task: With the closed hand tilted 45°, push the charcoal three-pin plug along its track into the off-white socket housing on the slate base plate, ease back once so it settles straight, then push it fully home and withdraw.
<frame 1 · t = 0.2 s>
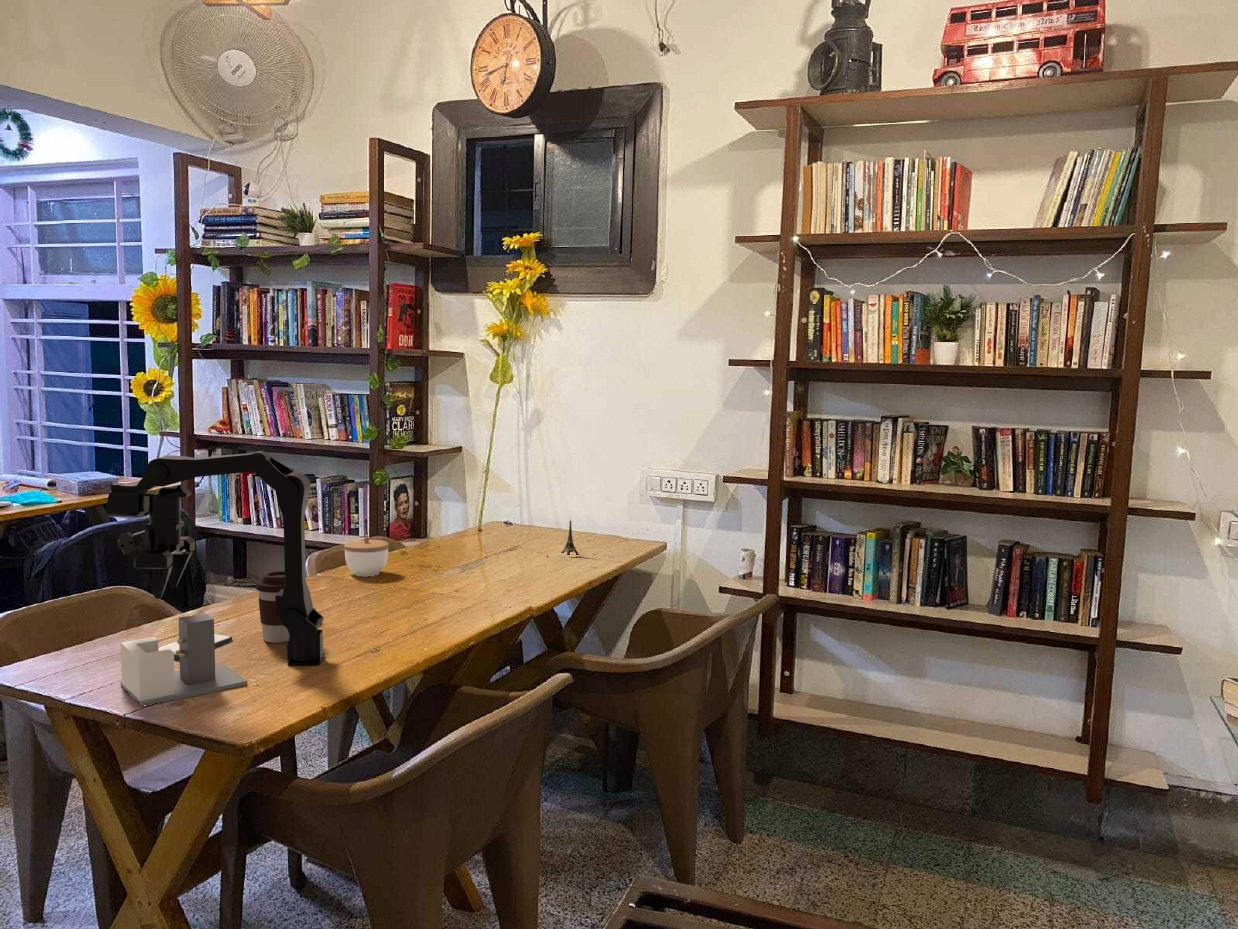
hand: (165, 593, 193), 15 cm above the table, tool pointing down, fingers open, 9 cm apart
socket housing: (148, 692, 178), on the table
plug: (194, 648, 183), point 7 cm above the table, slide at 0.0 cm
coffee cup: (280, 639, 214), on the table
lidded bowl: (366, 574, 278), on the table
eiffel tower figurine: (570, 557, 311), on the table
smartphone: (193, 650, 206), on the table
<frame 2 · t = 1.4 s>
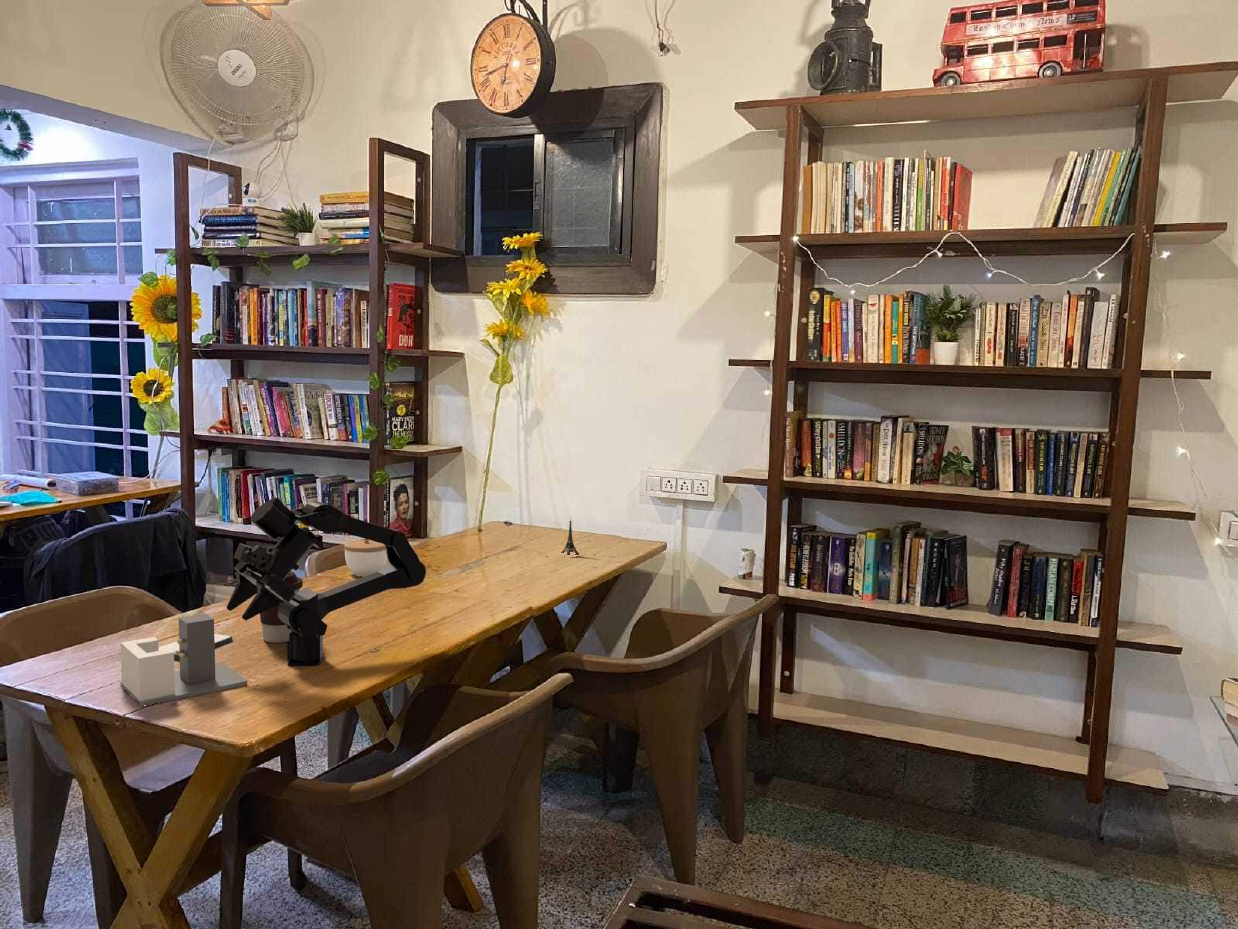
hand: (235, 614, 188), 12 cm above the table, tool tilted 45°, fingers open, 8 cm apart
nothing on the table moved.
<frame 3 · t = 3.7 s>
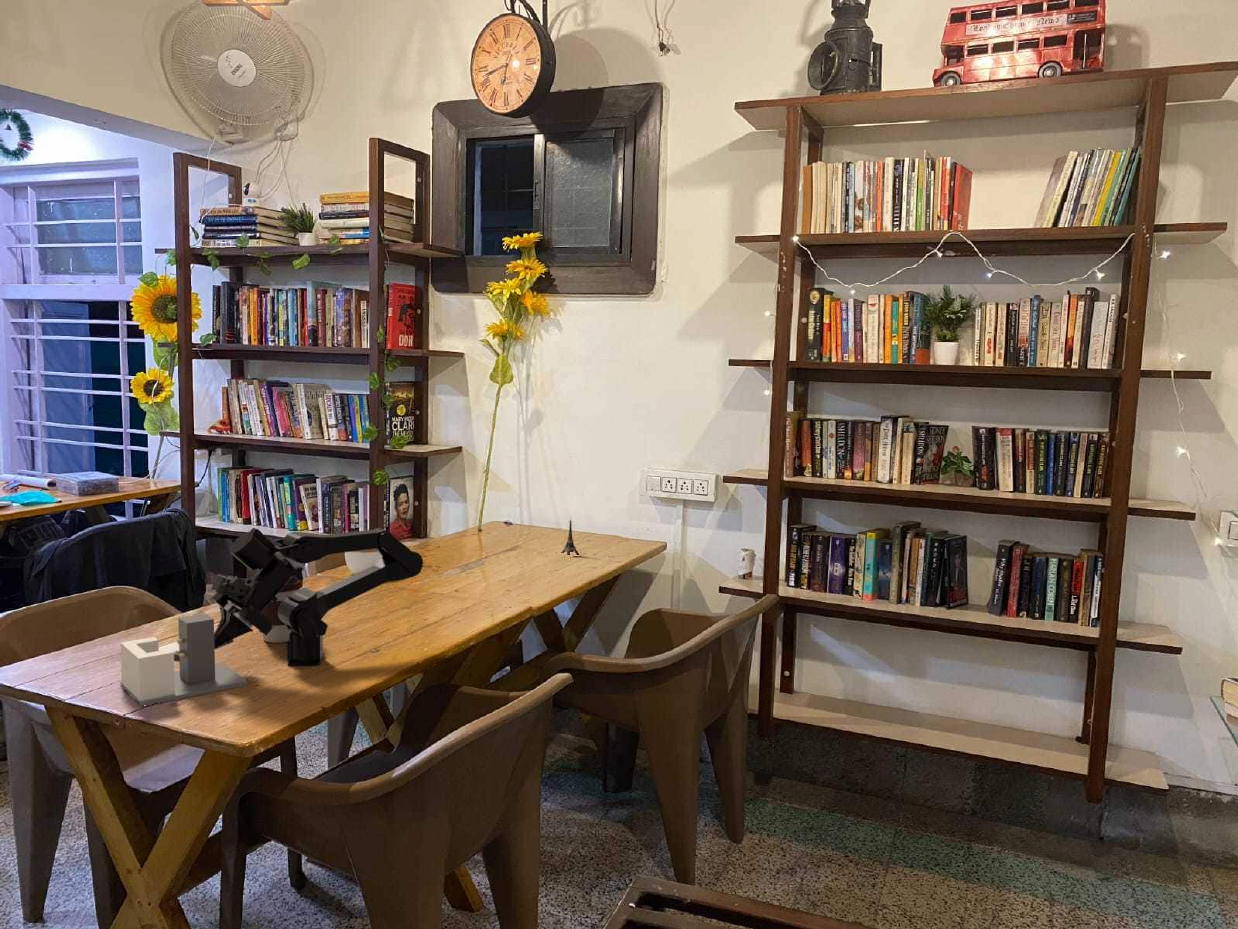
hand: (211, 646, 185), 7 cm above the table, tool tilted 45°, fingers closed, pressing on plug
plug: (194, 648, 183), point 7 cm above the table, slide at 0.0 cm, touching gripper
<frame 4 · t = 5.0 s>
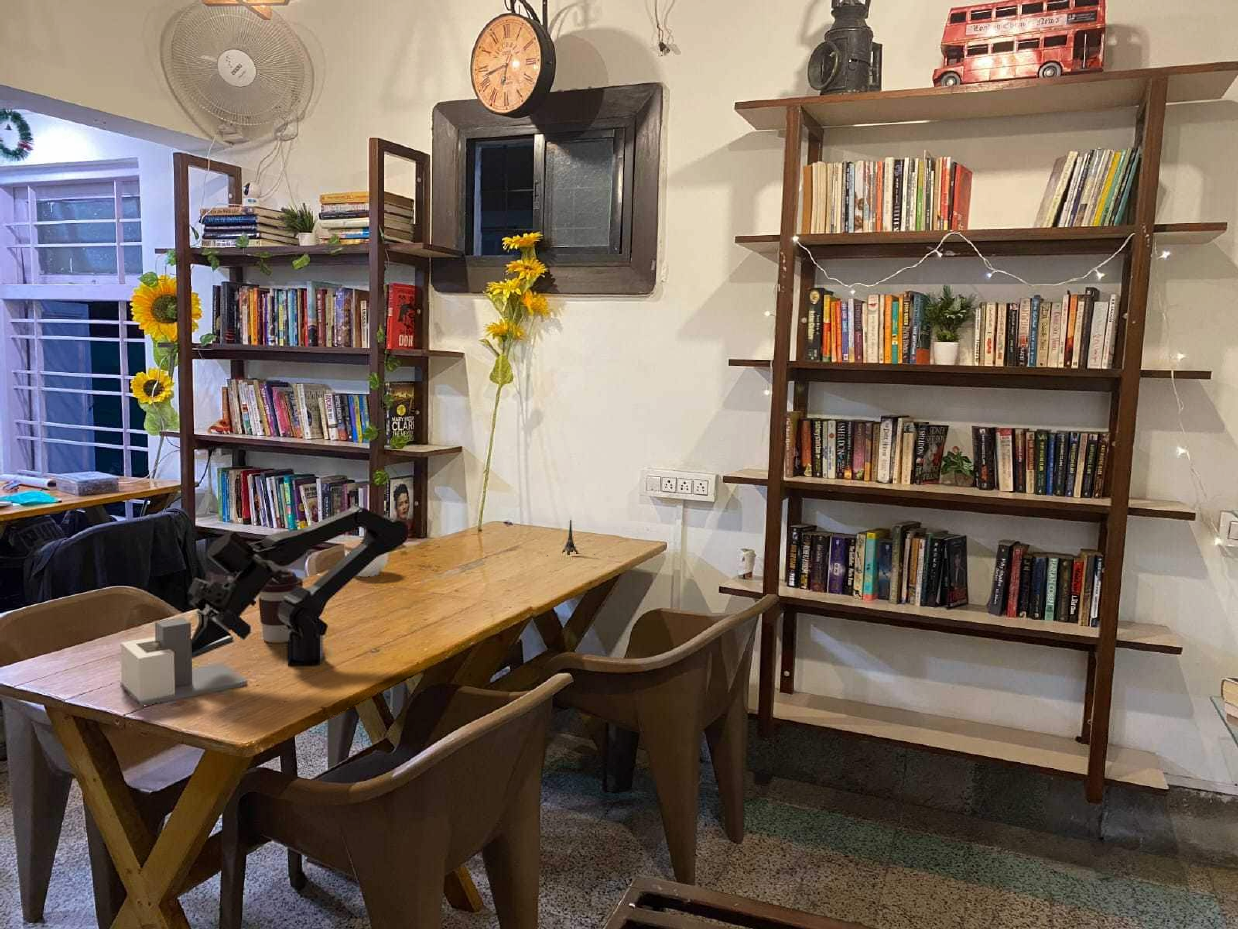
hand: (188, 651, 182), 7 cm above the table, tool tilted 45°, fingers closed, pressing on plug
plug: (170, 653, 180), point 7 cm above the table, slide at 4.3 cm, touching gripper
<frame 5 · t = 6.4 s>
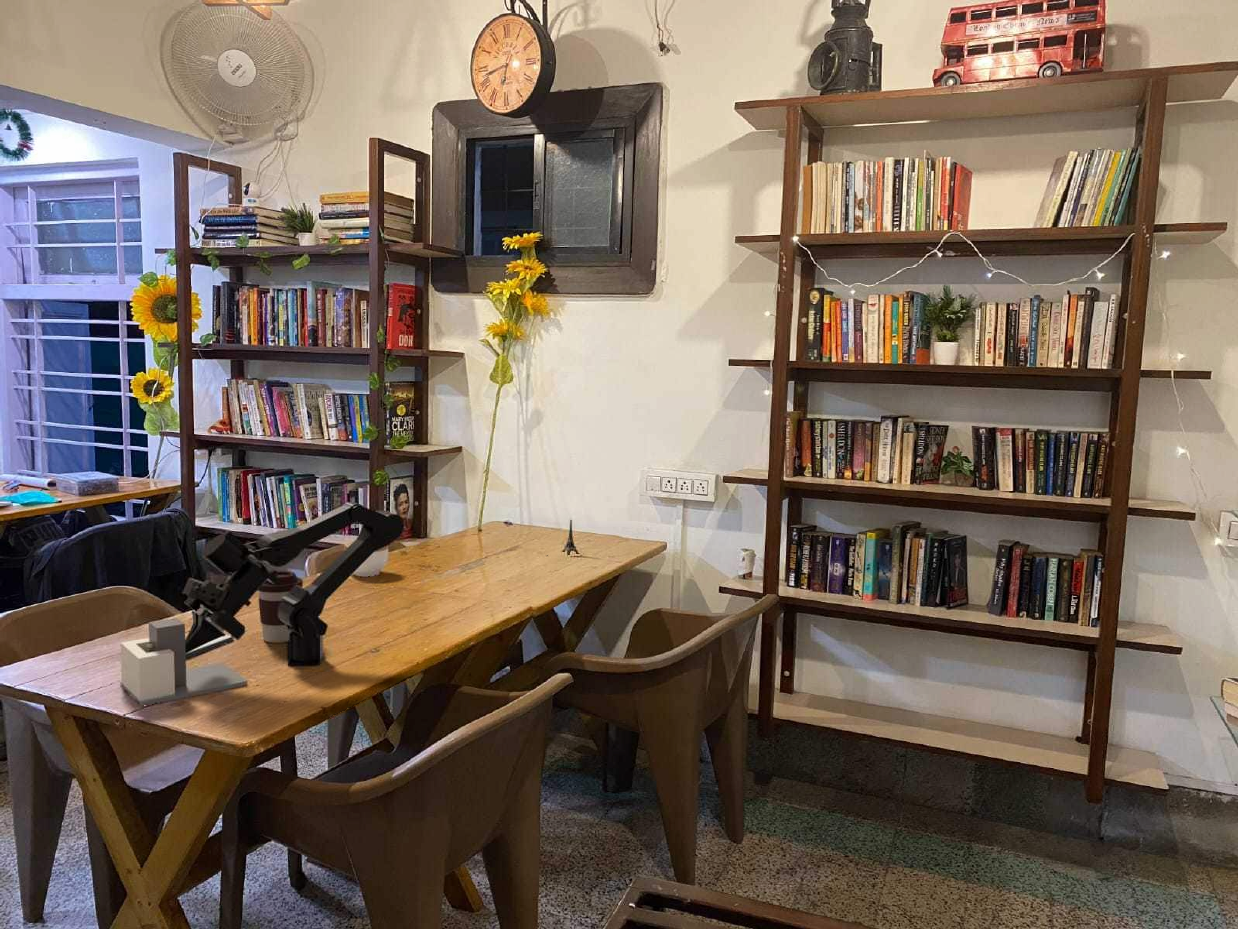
hand: (182, 651, 182), 7 cm above the table, tool tilted 45°, fingers closed, pressing on plug
plug: (164, 654, 179), point 7 cm above the table, slide at 5.4 cm, touching gripper
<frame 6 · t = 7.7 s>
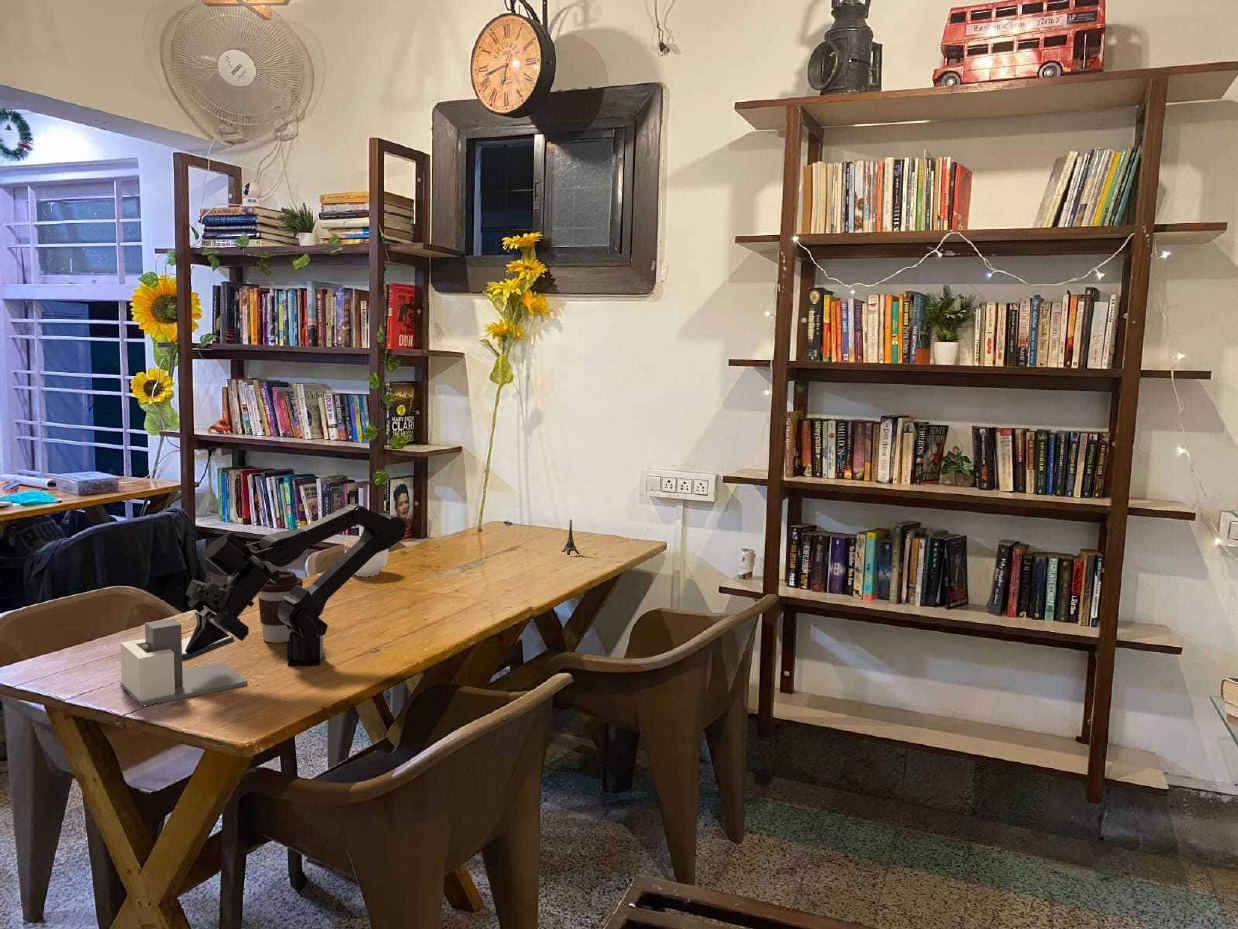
hand: (187, 653, 182), 6 cm above the table, tool tilted 45°, fingers closed
plug: (161, 654, 179), point 7 cm above the table, slide at 6.0 cm
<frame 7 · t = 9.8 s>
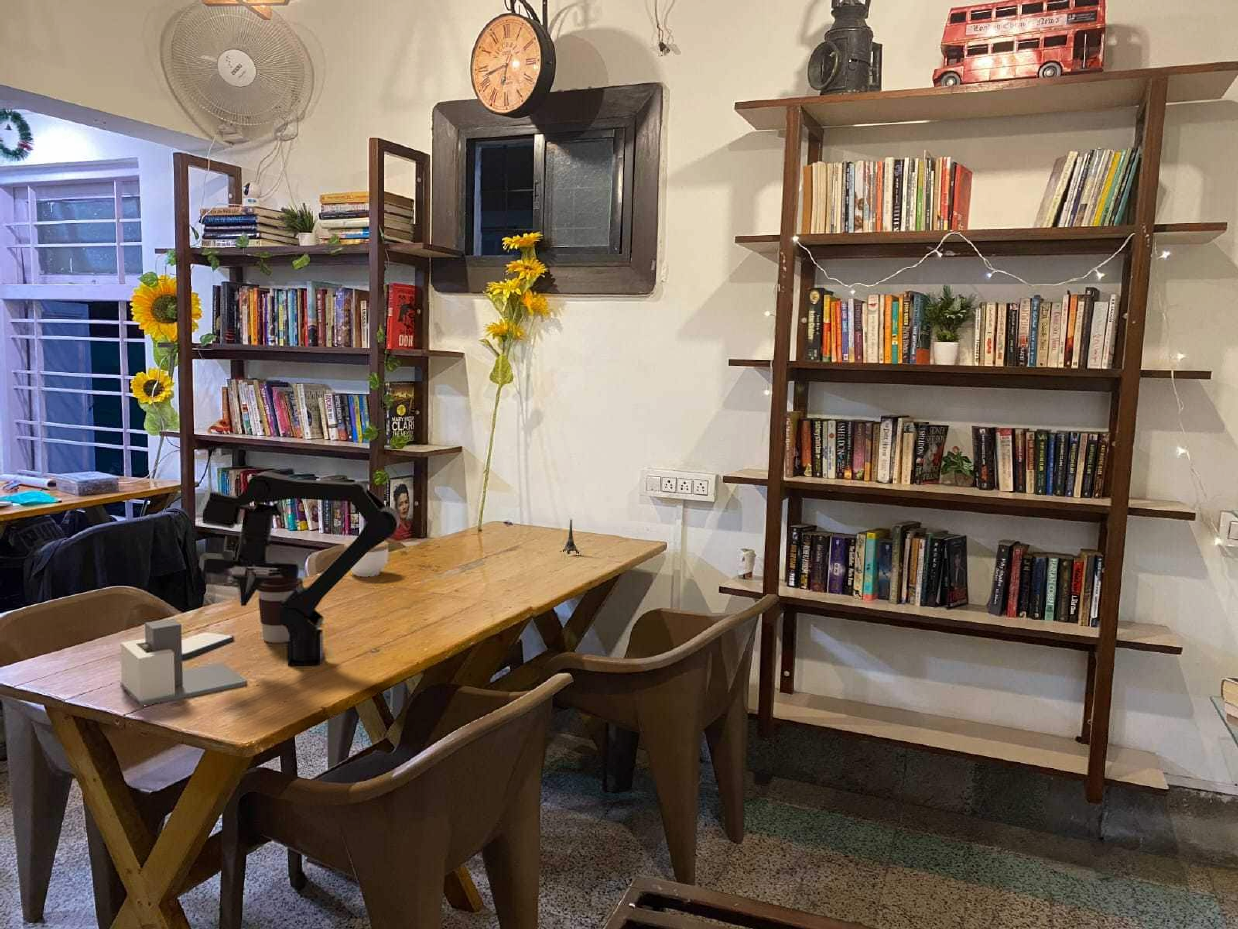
hand: (242, 605, 196), 12 cm above the table, tool pointing down, fingers closed
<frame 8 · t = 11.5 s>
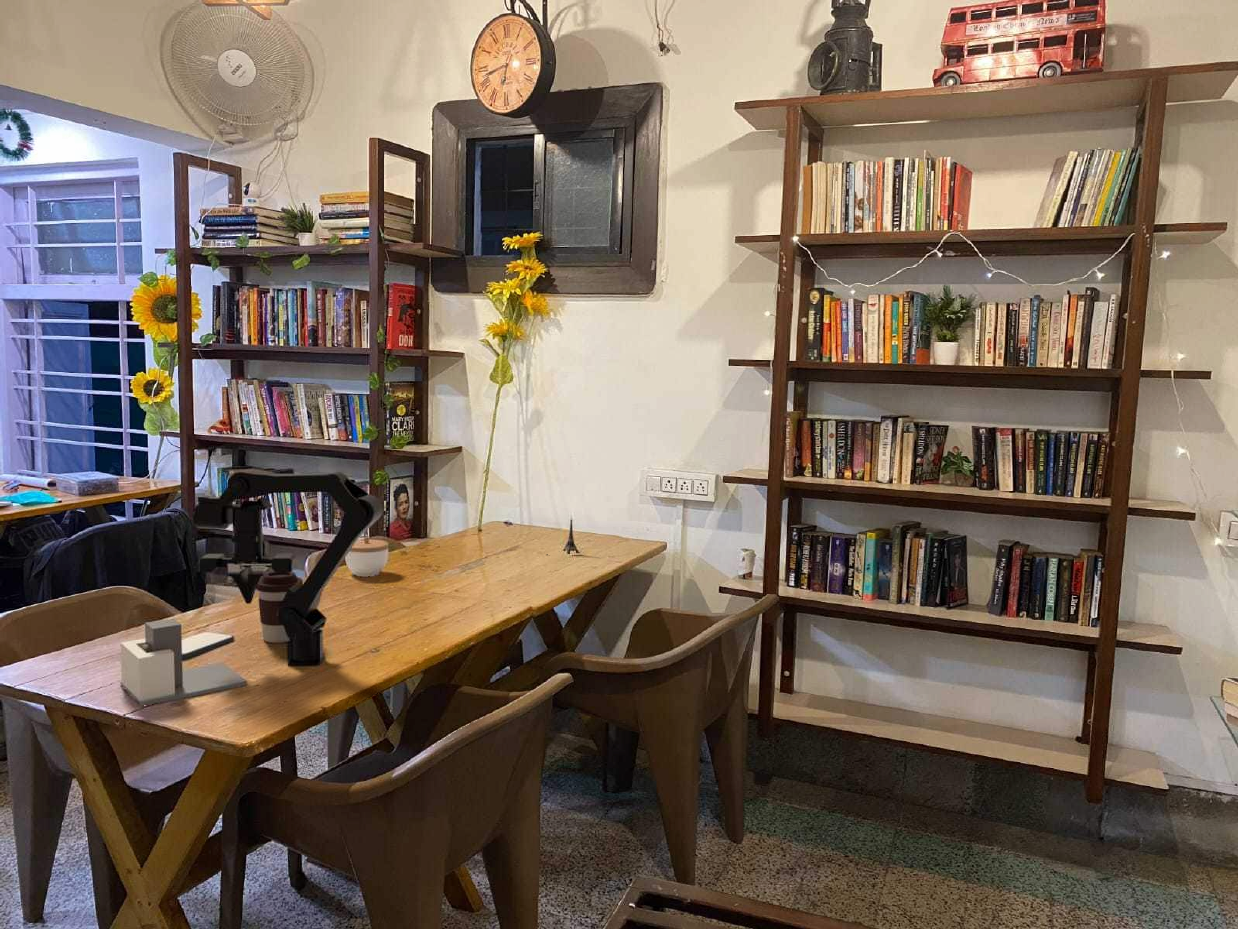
hand: (248, 603, 198), 12 cm above the table, tool pointing down, fingers closed
at the end: plug slide at 6.0 cm; plug 3.0 cm from the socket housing (horizontally) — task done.
